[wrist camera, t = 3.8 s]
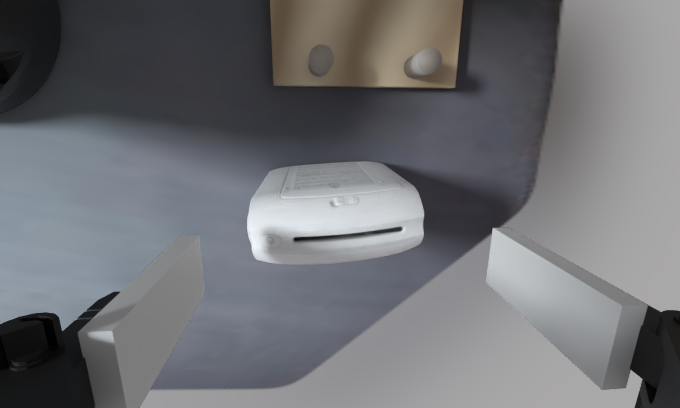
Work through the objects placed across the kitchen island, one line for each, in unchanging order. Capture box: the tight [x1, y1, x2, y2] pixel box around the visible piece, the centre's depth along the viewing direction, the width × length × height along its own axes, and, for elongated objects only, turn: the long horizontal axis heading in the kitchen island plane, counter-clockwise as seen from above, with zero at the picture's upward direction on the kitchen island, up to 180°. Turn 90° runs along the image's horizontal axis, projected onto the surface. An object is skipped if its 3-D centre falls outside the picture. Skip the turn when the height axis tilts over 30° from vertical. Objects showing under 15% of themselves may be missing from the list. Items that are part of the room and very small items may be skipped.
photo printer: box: [247, 161, 424, 264], centre depth 23 cm, size 10×4×12 cm, turn 94°
